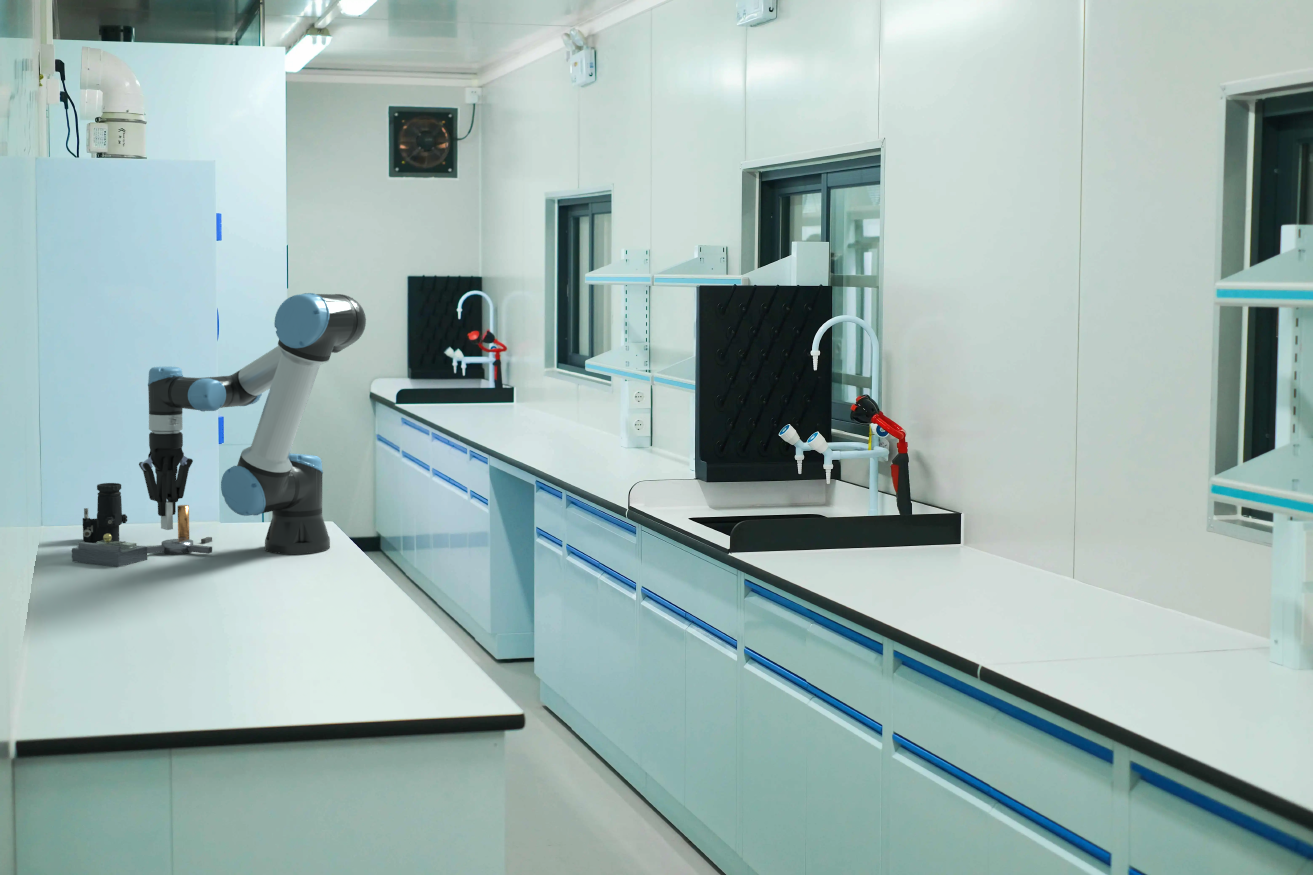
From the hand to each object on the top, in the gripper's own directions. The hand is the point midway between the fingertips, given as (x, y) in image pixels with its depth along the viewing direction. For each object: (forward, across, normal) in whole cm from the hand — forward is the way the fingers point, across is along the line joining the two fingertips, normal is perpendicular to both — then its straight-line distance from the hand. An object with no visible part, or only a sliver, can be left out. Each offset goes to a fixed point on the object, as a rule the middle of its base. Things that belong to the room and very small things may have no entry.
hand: (166, 528), depth 308 cm
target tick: (+4, +9, -3) cm, 10 cm away
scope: (+5, -8, +15) cm, 17 cm away
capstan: (+4, -1, -7) cm, 8 cm away
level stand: (+4, -18, -7) cm, 20 cm away
